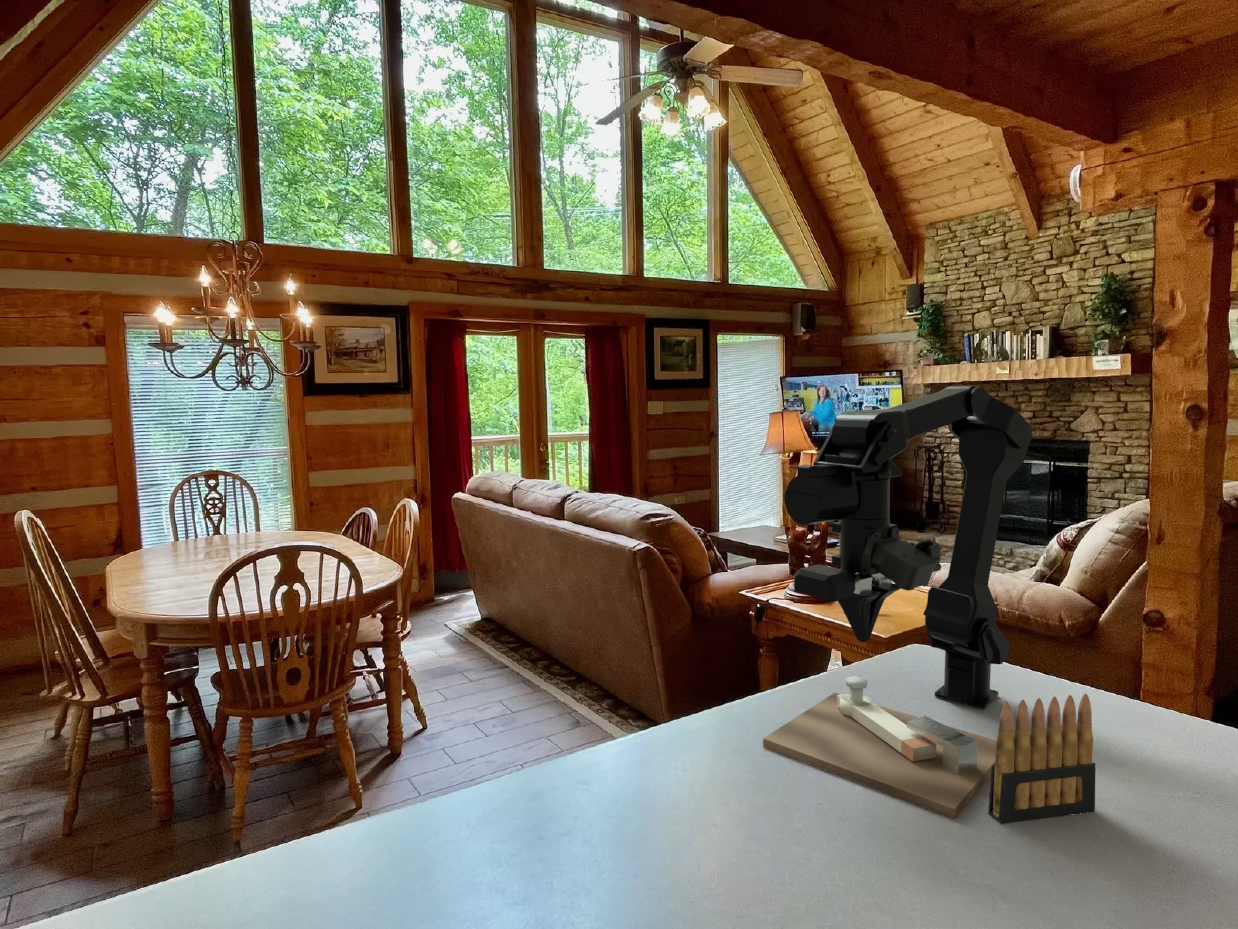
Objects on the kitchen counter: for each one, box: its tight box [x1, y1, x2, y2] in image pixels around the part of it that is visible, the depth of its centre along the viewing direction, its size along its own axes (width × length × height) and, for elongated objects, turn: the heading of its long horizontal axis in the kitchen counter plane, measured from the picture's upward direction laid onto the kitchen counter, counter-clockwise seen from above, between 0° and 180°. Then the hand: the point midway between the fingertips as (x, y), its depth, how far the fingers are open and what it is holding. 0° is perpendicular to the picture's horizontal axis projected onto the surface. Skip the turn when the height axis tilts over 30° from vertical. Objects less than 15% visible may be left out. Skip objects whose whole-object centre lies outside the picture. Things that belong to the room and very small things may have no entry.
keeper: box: [907, 715, 978, 775], centre depth 81 cm, size 3×7×3 cm, turn 26°
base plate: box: [762, 692, 997, 820], centre depth 85 cm, size 18×22×1 cm
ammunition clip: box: [987, 693, 1097, 825], centre depth 72 cm, size 11×2×12 cm, turn 100°
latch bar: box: [837, 676, 936, 762], centre depth 88 cm, size 15×4×4 cm, turn 16°
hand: (863, 641), depth 89 cm, fingers closed
